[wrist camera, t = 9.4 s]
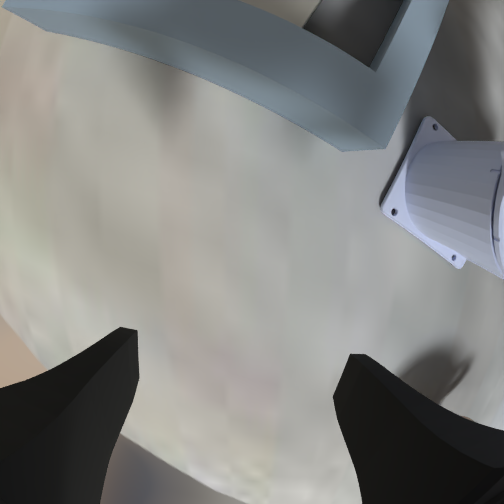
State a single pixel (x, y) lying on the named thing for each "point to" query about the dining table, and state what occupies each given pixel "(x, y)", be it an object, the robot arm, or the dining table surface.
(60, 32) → the box
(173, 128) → the dining table surface
